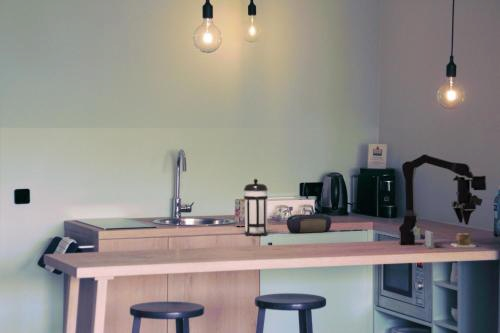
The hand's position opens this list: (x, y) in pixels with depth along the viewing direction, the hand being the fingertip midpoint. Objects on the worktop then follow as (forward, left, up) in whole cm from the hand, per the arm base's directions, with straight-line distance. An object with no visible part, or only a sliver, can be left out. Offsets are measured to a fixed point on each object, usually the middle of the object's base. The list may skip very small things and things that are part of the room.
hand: (463, 223), depth 379 cm
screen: (-16, 0, -11) cm, 19 cm away
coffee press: (-95, +55, -11) cm, 110 cm away
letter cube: (0, 0, -10) cm, 10 cm away
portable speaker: (-65, +67, -11) cm, 94 cm away
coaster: (0, 0, -11) cm, 11 cm away
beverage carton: (-15, +42, -11) cm, 46 cm away
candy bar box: (-100, +102, -11) cm, 143 cm away
